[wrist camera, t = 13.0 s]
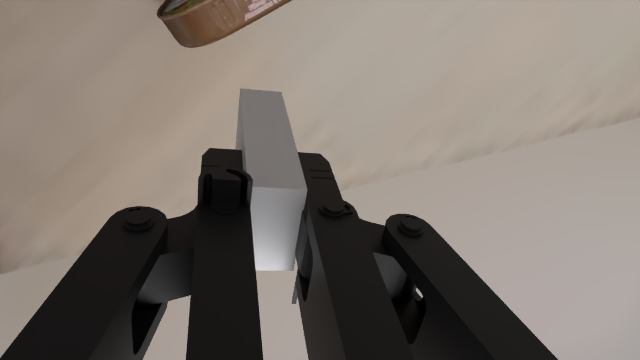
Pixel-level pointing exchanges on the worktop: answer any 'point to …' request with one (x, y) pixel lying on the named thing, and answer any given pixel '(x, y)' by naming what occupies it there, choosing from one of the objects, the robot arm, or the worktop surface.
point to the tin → (211, 18)
